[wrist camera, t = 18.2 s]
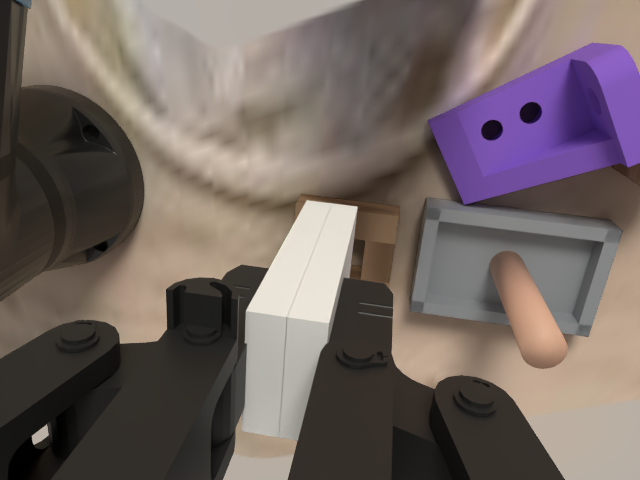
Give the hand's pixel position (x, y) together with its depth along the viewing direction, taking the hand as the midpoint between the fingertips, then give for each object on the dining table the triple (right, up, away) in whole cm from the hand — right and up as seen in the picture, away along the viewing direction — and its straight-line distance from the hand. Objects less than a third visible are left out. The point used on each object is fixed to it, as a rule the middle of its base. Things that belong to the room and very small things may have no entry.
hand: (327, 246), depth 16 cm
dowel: (+15, -2, +26) cm, 30 cm away
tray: (+15, -1, +27) cm, 31 cm away
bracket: (+15, +9, +24) cm, 29 cm away
